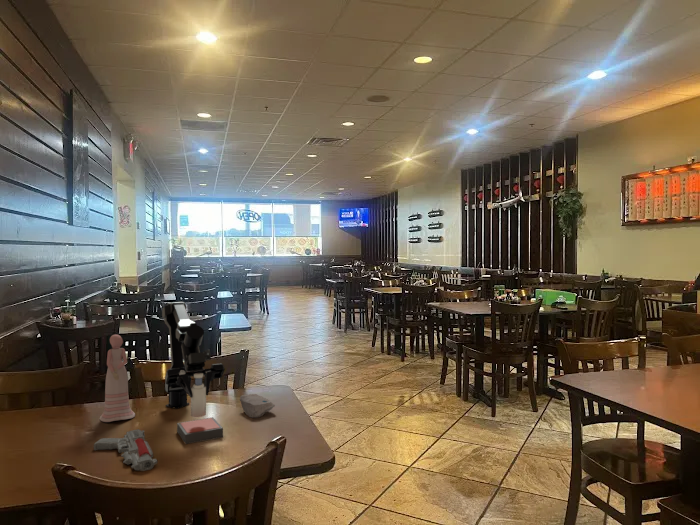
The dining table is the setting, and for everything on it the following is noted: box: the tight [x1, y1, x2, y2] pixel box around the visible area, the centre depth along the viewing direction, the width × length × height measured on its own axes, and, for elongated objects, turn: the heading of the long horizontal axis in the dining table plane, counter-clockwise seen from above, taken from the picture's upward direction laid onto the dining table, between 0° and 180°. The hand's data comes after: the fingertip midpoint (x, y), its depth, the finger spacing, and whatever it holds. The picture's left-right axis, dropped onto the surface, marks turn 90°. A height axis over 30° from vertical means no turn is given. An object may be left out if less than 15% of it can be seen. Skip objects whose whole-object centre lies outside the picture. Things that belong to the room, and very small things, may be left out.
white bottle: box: [190, 373, 207, 418], centre depth 170 cm, size 5×5×14 cm
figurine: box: [99, 334, 136, 423], centre depth 186 cm, size 13×13×30 cm
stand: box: [176, 417, 224, 445], centre depth 170 cm, size 12×12×3 cm
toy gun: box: [93, 428, 158, 472], centre depth 153 cm, size 4×27×15 cm
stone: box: [239, 393, 276, 419], centre depth 193 cm, size 13×10×6 cm
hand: (199, 395), depth 168 cm, fingers closed on white bottle, 5 cm apart
